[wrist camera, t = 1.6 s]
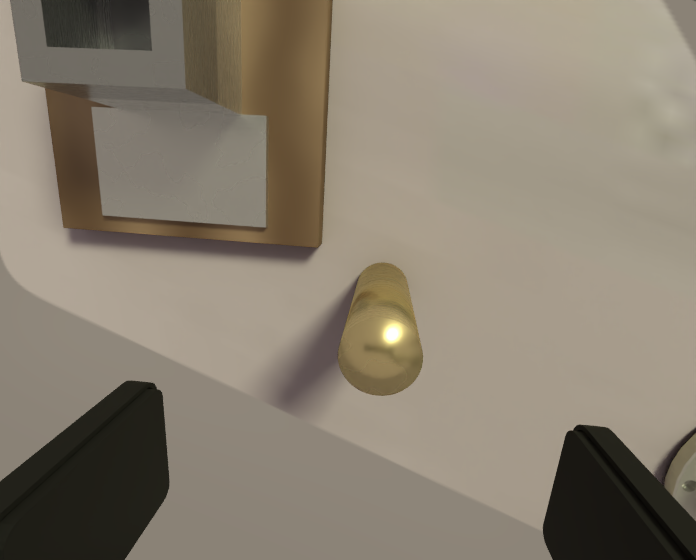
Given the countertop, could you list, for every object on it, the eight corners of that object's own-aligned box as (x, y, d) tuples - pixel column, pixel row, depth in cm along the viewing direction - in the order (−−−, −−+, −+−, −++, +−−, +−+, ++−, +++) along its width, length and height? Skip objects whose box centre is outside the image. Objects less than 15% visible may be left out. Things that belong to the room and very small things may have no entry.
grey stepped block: (270, -189, 17) (212, -379, 11) (267, 226, 22) (225, 242, 16) (67, -186, 18) (-86, -362, 12) (107, 214, 23) (12, 225, 17)
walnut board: (340, -187, 18) (336, -219, 17) (321, 243, 23) (317, 247, 22) (34, -182, 19) (5, -212, 18) (82, 225, 25) (63, 227, 23)
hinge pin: (410, 264, 23) (427, 322, 14) (405, 313, 24) (418, 399, 14) (358, 260, 23) (340, 314, 14) (355, 308, 24) (335, 390, 15)
